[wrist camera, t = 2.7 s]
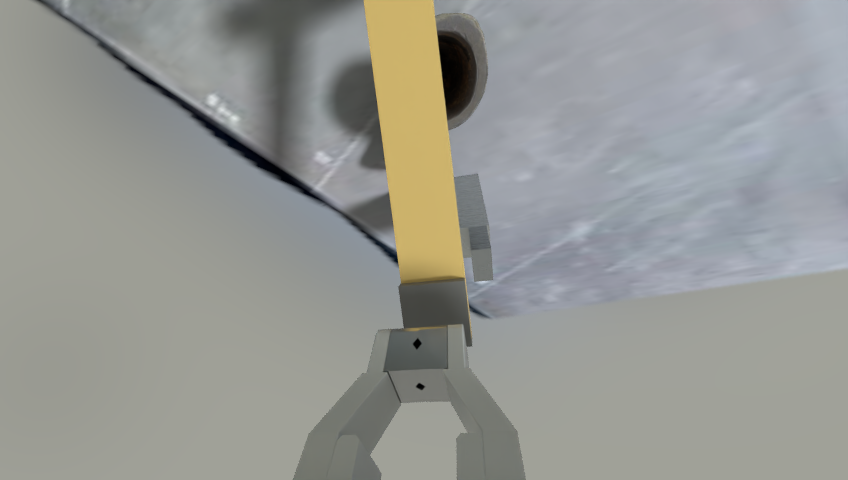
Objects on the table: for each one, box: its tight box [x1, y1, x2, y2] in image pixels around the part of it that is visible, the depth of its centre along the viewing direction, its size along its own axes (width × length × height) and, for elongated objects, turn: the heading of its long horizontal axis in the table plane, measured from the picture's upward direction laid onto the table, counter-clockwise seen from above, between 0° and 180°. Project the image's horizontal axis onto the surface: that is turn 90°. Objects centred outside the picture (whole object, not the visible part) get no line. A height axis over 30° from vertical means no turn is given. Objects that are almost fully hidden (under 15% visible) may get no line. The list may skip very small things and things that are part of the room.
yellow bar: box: [364, 0, 472, 347], centre depth 14 cm, size 21×3×2 cm
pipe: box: [384, 13, 488, 161], centre depth 24 cm, size 6×13×8 cm, turn 156°
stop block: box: [454, 174, 493, 282], centre depth 28 cm, size 3×7×13 cm, turn 100°
